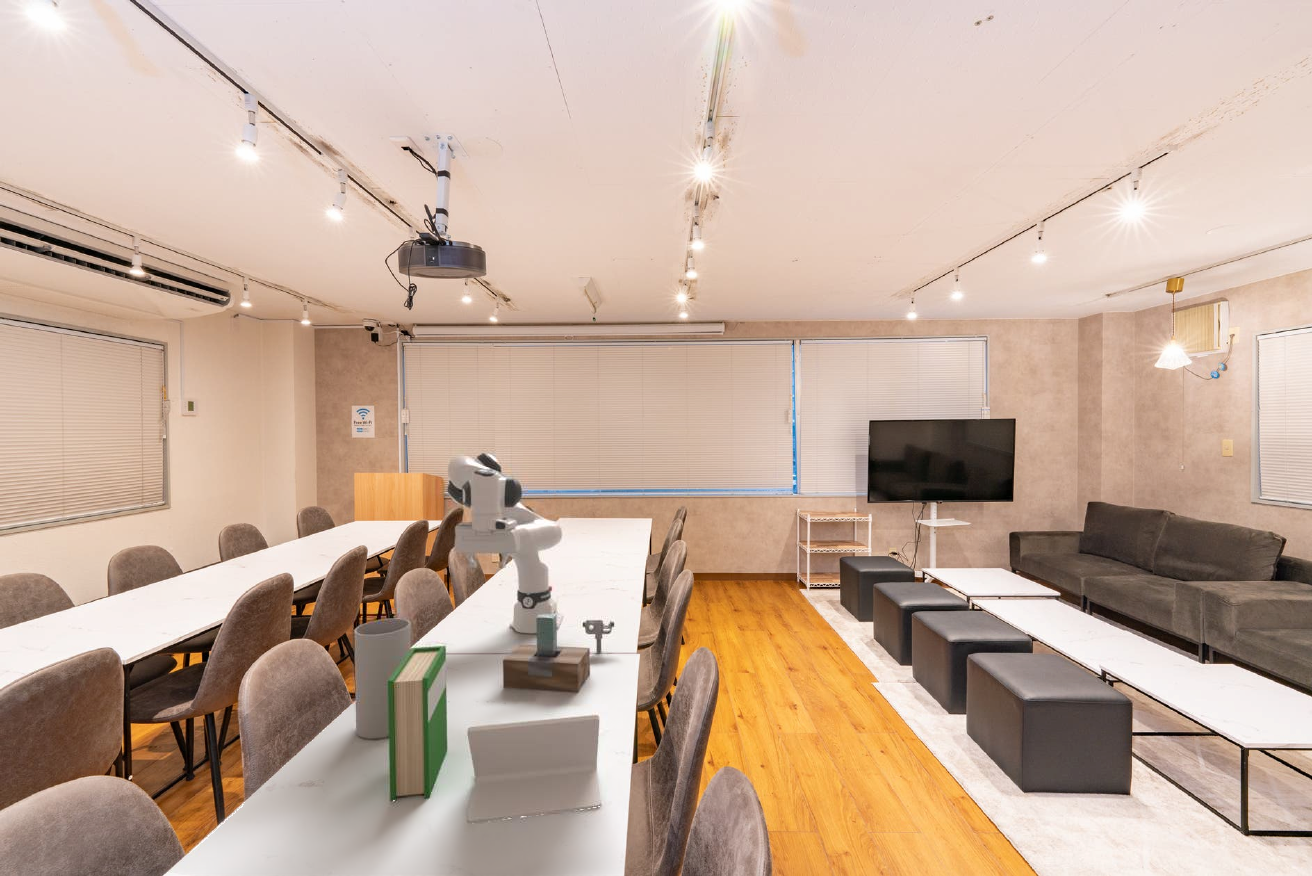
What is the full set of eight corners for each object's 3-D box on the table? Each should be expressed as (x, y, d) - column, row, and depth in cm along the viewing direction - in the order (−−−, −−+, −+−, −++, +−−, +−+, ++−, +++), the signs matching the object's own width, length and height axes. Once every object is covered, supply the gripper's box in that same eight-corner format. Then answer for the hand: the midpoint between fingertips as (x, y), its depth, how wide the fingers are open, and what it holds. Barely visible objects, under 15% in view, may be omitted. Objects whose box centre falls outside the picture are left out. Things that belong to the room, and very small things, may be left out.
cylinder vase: (400, 710, 153) (398, 615, 152) (420, 727, 144) (418, 626, 144) (349, 727, 144) (347, 627, 144) (366, 746, 135) (364, 639, 135)
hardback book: (429, 798, 116) (427, 678, 116) (390, 802, 115) (387, 680, 114) (447, 750, 133) (445, 645, 133) (413, 753, 132) (411, 648, 132)
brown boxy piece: (519, 670, 177) (519, 644, 177) (589, 674, 174) (589, 647, 174) (503, 687, 165) (502, 659, 165) (578, 692, 162) (577, 663, 162)
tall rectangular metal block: (540, 665, 171) (540, 614, 171) (557, 665, 171) (556, 614, 170) (537, 669, 168) (536, 617, 168) (553, 670, 168) (553, 618, 167)
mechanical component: (613, 653, 190) (613, 622, 190) (582, 653, 190) (582, 623, 190) (614, 649, 193) (614, 619, 193) (584, 650, 193) (583, 620, 193)
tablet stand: (601, 809, 112) (600, 721, 112) (466, 826, 108) (465, 734, 108) (594, 757, 130) (593, 681, 130) (478, 770, 126) (477, 691, 125)
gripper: (449, 524, 177) (451, 569, 177) (513, 524, 174) (514, 570, 174) (460, 520, 183) (461, 564, 183) (521, 521, 180) (522, 565, 180)
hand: (487, 567), depth 178 cm, fingers open, 8 cm apart
